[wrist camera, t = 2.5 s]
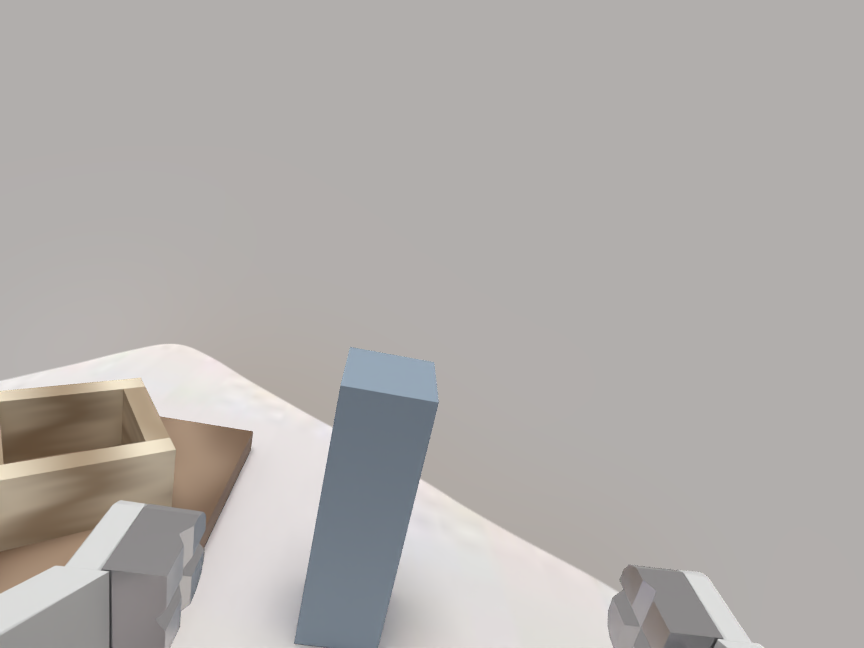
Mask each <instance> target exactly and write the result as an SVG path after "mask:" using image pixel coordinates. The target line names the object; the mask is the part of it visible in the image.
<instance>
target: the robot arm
mask: <svg viewBox="0 0 864 648" xmlns="http://www.w3.org/2000/svg"><path fill="white" fill-rule="evenodd" d="M205 530H206V514H205V513H204V512H201V511H195V510H188V509H181V508H174V507H168V506H161V505H154V504H144V503H137V502H130V501H123V500H120V501H118V502H116V503H114V504H113V505H112V506H111V507H110V509H109V510H108V511H107V513H106V514H105V515H104V516H103V518H102V519H101V520H100V522H99V523H98V524H97V525H96V527H95V528H94V529H93V531H92V532H91V533H90V534H89V536H88V537H87V538H86V540H85V541H84V542H83V543H82V545H81V546H80V547H79V549H78V550H77V551H76V552H75V554H74V555H73V556H72V558H71V559H70V560H69V561H68V563H67V564H66V565H65V566H54V567H52V568H50V569H48V570H46V571H44V572H42V573H40V574H38V575H36V576H34V577H32V578H30V579H28V580H26V581H24V582H22V583H20V584H18V585H16V586H14V587H12V588H10V589H8V590H6V591H4V592H3V593H1V594H0V648H170V647H171V645H172V643H173V641H174V638H175V636H176V634H177V632H178V630H179V627H180V617H181V610H183V609H184V608H186V607H187V606H189V605H190V603H191V601H192V598H193V596H194V594H195V591H196V588H197V585H198V582H199V579H200V575H201V571H202V565H203V559H204V548H203V547H202V546H201V544H200V543H199V542H200V540H201V538H202V536H203V534H204V532H205ZM620 582H621V584H622V587H623V590H622V591H621V592H619V593H618V594H617V595H615V596H614V597H613V598H612V601H611V604H610V607H609V610H608V630H609V636H610V639H611V642H612V645H613V647H614V648H764V647H763V646H762V645H760V644H757V643H752V642H751V641H750V639H749V638H748V636H747V635H746V633H745V632H744V630H743V629H742V627H741V626H740V624H739V623H738V621H737V620H736V618H735V617H734V615H733V614H732V612H731V611H730V610H729V608H728V606H727V605H726V603H725V602H724V600H723V599H722V597H721V596H720V594H719V593H718V592H717V590H716V588H715V587H714V585H713V584H712V583H711V581H710V579H709V578H708V577H707V576H705V575H704V574H703V573H702V572H694V571H684V570H671V569H662V568H653V567H645V566H636V565H628V566H627V567H626V568H625V569H624V570H623V573H622V575H621V577H620Z"/></svg>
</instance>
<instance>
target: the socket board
mask: <svg viewBox="0 0 864 648" xmlns="http://www.w3.org/2000/svg"><path fill="white" fill-rule="evenodd" d="M252 436H253V432H252V431H246V430H240V429H234V428H228V427H221V426H215V425H209V424H203V423H197V422H191V421H184V420H178V419H172V418H166V417H160V416H159V414H158V412H157V410H156V408H155V406H154V404H153V402H152V400H151V398H150V396H149V394H148V392H147V390H146V388H145V386H144V383H143V381H142V379H141V378H133V379H123V380H112V381H102V382H91V383H80V384H70V385H59V386H49V387H38V388H28V389H17V390H6V391H0V594H1V593H3V592H4V591H6V590H8V589H10V588H12V587H14V586H16V585H18V584H20V583H22V582H24V581H26V580H28V579H30V578H32V577H34V576H36V575H38V574H40V573H42V572H44V571H46V570H48V569H50V568H52V567H54V566H65V565H66V564H67V563H68V561H69V560H70V559H71V558H72V556H73V555H74V554H75V552H76V551H77V550H78V549H79V547H80V546H81V545H82V543H83V542H84V541H85V540H86V538H87V537H88V536H89V534H90V533H91V532H92V531H93V529H94V528H95V527H96V525H97V524H98V523H99V522H100V520H101V519H102V518H103V516H104V515H105V514H106V513H107V511H108V510H109V509H110V507H111V506H112V505H113V504H114V503H116V502H118V501H120V500H123V501H130V502H137V503H144V504H154V505H161V506H168V507H174V508H181V509H188V510H195V511H201V512H204V513H205V514H206V530H205V532H204V534H203V536H202V538H201V540H200V542H199V543H200V544H201V546H202V547H203V548H204V546H205V544H206V542H207V540H208V538H209V536H210V534H211V532H212V529H213V527H214V525H215V523H216V521H217V519H218V517H219V515H220V513H221V511H222V509H223V506H224V504H225V502H226V500H227V498H228V496H229V494H230V492H231V490H232V488H233V486H234V483H235V481H236V479H237V477H238V475H239V473H240V471H241V469H242V467H243V465H244V463H245V461H246V458H247V456H248V454H249V452H250V450H251V444H252Z"/></svg>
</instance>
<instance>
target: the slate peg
mask: <svg viewBox="0 0 864 648" xmlns="http://www.w3.org/2000/svg"><path fill="white" fill-rule="evenodd" d="M438 403H439V402H438V392H437V384H436V375H435V366H434V362H429V361H424V360H418V359H413V358H407V357H402V356H397V355H391V354H386V353H380V352H375V351H369V350H363V349H358V348H352V347H350V350H349V354H348V358H347V362H346V366H345V370H344V374H343V378H342V382H341V386H340V391H339V398H338V402H337V408H336V414H335V419H334V425H333V430H332V436H331V441H330V447H329V453H328V458H327V464H326V469H325V475H324V480H323V486H322V492H321V497H320V503H319V508H318V514H317V519H316V525H315V531H314V536H313V542H312V547H311V553H310V558H309V564H308V570H307V575H306V581H305V586H304V592H303V597H302V603H301V609H300V614H299V620H298V625H297V631H296V636H295V642H294V643H295V644H303V645H311V646H320V647H328V648H378V645H379V641H380V637H381V633H382V629H383V625H384V621H385V617H386V613H387V609H388V605H389V601H390V597H391V593H392V589H393V585H394V581H395V577H396V573H397V569H398V565H399V561H400V557H401V553H402V549H403V545H404V540H405V536H406V532H407V528H408V524H409V520H410V516H411V512H412V508H413V504H414V500H415V496H416V492H417V488H418V484H419V480H420V476H421V471H422V468H423V464H424V460H425V456H426V452H427V448H428V444H429V439H430V435H431V431H432V428H433V424H434V419H435V415H436V411H437V407H438Z"/></svg>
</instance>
